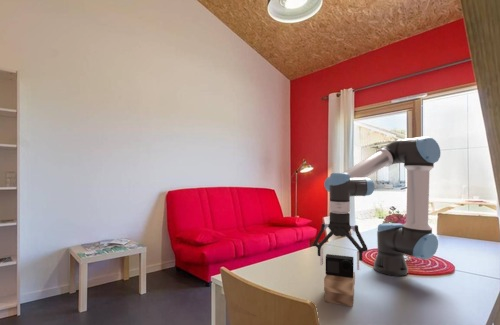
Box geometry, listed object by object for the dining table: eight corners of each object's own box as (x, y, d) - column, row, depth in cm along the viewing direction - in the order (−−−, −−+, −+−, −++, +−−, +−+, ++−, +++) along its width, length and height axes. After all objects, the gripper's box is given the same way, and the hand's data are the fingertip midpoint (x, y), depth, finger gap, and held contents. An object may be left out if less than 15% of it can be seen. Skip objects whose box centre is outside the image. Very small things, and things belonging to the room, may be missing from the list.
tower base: (354, 294, 115) (354, 283, 116) (352, 307, 104) (352, 295, 104) (328, 290, 119) (328, 279, 119) (324, 302, 108) (324, 290, 108)
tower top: (354, 283, 115) (354, 272, 115) (352, 295, 104) (352, 283, 104) (329, 279, 119) (329, 268, 119) (324, 290, 108) (324, 278, 108)
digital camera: (324, 275, 111) (324, 257, 112) (326, 270, 117) (326, 253, 117) (353, 279, 108) (353, 260, 108) (353, 274, 113) (353, 256, 113)
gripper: (306, 211, 113) (305, 265, 113) (374, 215, 104) (374, 274, 104) (308, 209, 120) (308, 259, 120) (373, 212, 112) (373, 267, 111)
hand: (339, 266), depth 112 cm, fingers open, 13 cm apart
